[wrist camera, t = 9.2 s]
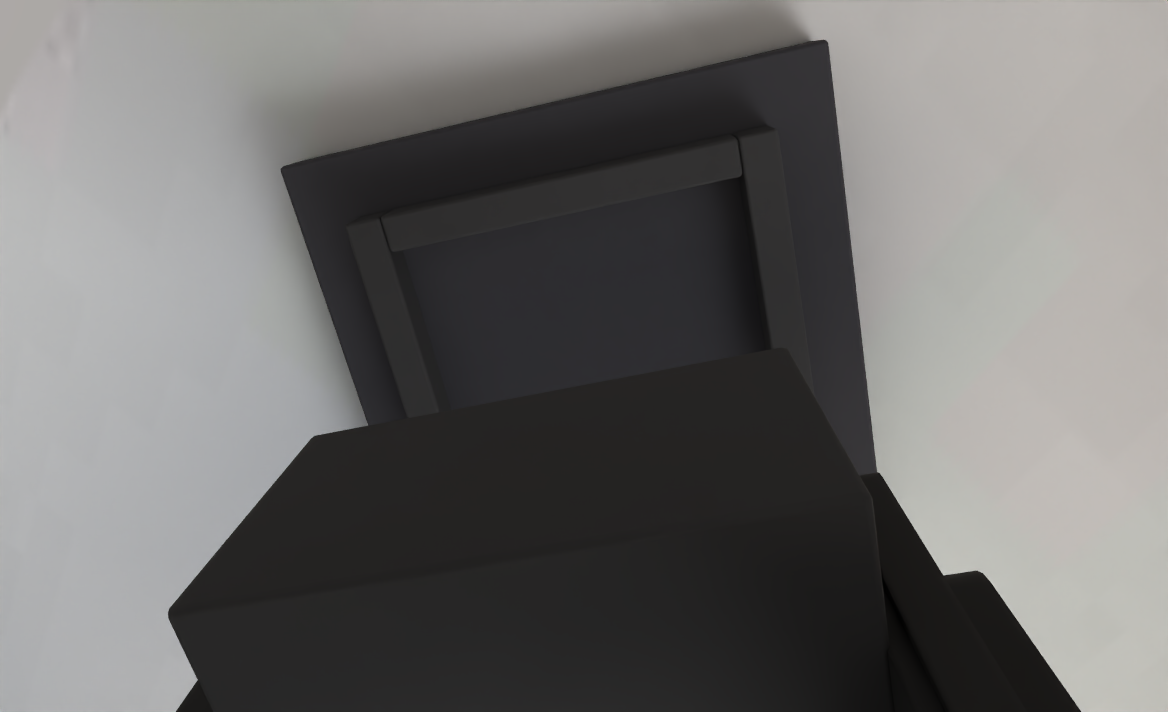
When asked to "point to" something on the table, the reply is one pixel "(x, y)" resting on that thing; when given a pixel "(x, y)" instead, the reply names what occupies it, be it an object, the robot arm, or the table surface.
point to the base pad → (597, 243)
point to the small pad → (559, 560)
